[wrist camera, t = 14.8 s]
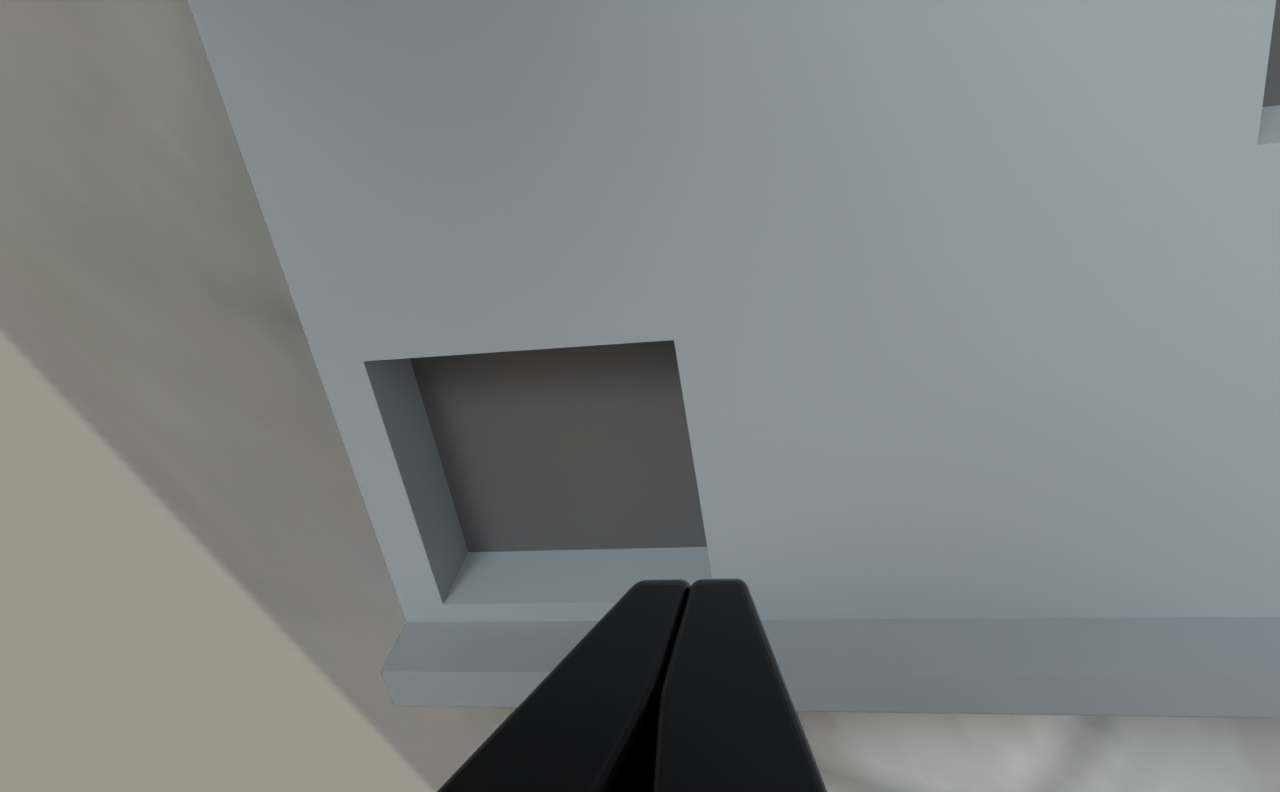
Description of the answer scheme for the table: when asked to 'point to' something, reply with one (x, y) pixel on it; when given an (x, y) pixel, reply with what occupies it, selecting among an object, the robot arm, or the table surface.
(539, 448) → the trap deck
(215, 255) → the table surface
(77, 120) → the table surface
